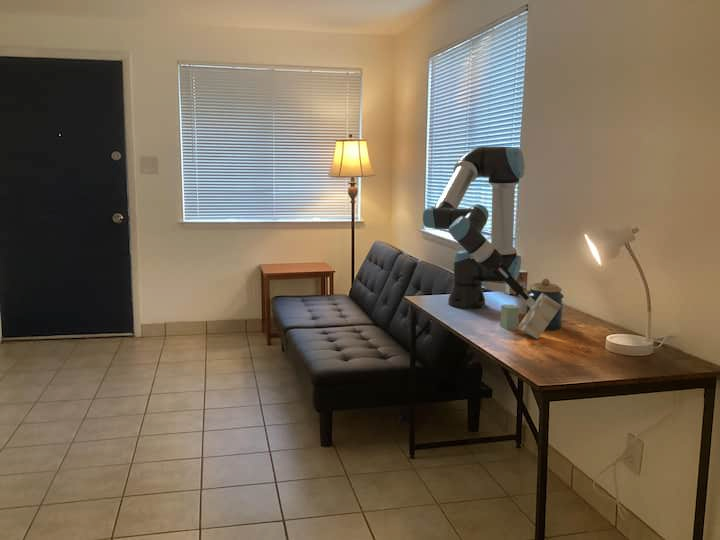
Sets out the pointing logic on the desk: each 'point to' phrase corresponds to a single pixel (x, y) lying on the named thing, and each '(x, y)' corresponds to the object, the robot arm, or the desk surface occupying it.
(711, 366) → the desk surface
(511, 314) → the sage block
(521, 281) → the small box
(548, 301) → the tall white box
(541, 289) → the canister
